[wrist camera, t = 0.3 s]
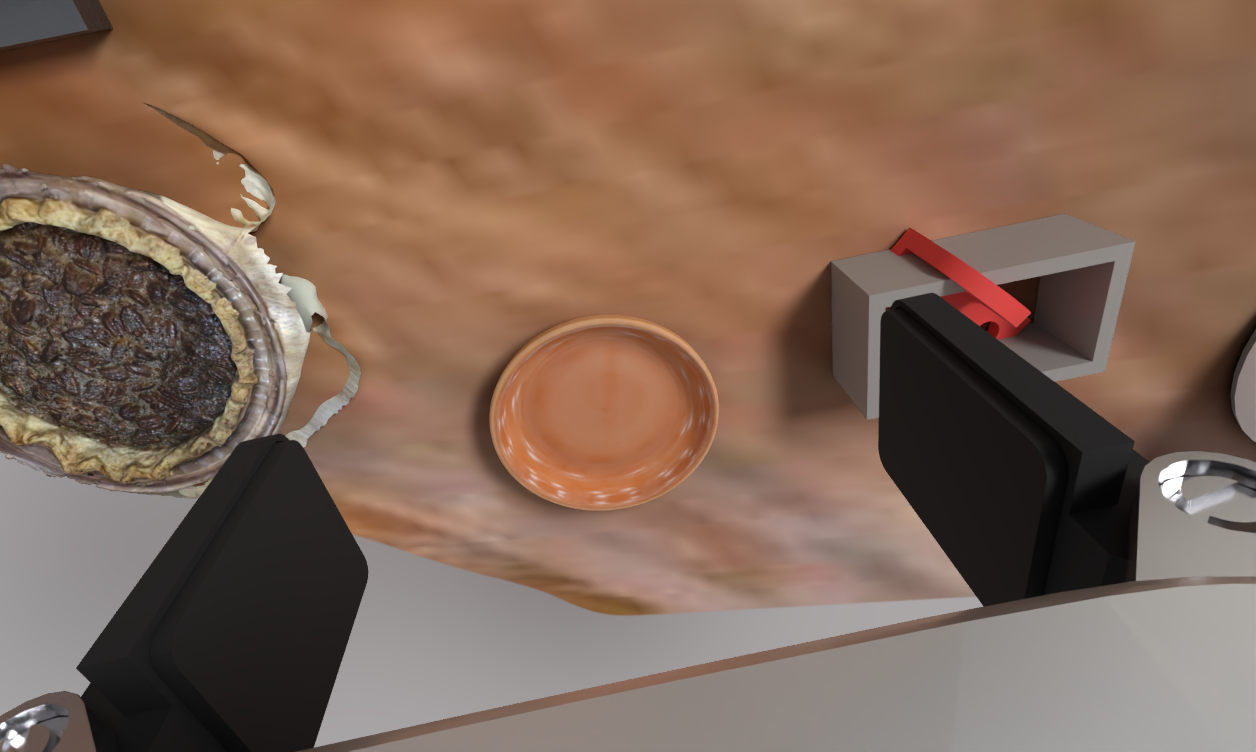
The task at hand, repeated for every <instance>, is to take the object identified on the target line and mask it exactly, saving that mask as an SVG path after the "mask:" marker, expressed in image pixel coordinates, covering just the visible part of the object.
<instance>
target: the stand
mask: <svg viewBox="0 0 1256 752" xmlns="http://www.w3.org/2000/svg"><path fill="white" fill-rule="evenodd" d="M109 29H113V28H112V26H111V24H110V22H109V20H108V18H107V16H106V14H105V12H104V10H103V8H102V6H101V5H100V3H99V1H98V0H0V51H5V50H10V49H15V48H20V47H25V46H30V45H35V44H40V43H45V42H50V41H54V40H59V39H64V38H69V37H74V36H79V35H84V34H89V33H94V32H99V31H104V30H109Z"/></svg>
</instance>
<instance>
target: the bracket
mask: <svg viewBox="0 0 1256 752" xmlns="http://www.w3.org/2000/svg"><path fill="white" fill-rule="evenodd" d="M890 251H891V252H893V253H894V254H896V255H897V256H901V255H906V254H911V253H914V254H915V255H917V256H918V257H920V258H921V259H923V260H924V261H926V262H927V263H929V264H930V265H931V266H933V267H934V268H936V269H937V270H939V271H940V272H942V273H943V274H945V275H946V276H947V277H949V278H950V279H952V280H953V281H954V282H956V283H957V284H958V285H960V286H961V287H962V288H964V289H965V290H966V291H965V292H960V293H955V294H950V295H945V296H940V297H941V298H943V299H944V300H945V301H947V302H948V303H949V304H951V305H952V306H953V307H955V308H956V309H957V310H959V311H960V312H961V313H963V314H964V315H965V316H967V317H968V318H969V319H971V320H972V321H973V322H975V323H976V324H977V325H979V326H980V325H982V324H983V323H985V322H989V321H990V325H989V328H988V329H987V332H988V333H990V334H991V335H992V336H994V337H995V338H996V339H1003V338H1008V337H1013V336H1016V335H1017V334H1018V333H1019V332H1020V331H1021V330H1022V329H1023V328H1024V327H1025V326H1026V325H1027V324H1028V323H1029V322H1030V321H1031V320H1030V319H1029V318H1028V316H1029V315H1030V314H1031V312H1030V311H1029V310H1028V309H1027V308H1026V307H1025V306H1023V305H1022V304H1021V303H1020V302H1018V301H1017V300H1016V299H1015V298H1013V297H1012V296H1011V295H1009V294H1008V293H1007V292H1005V291H1004V290H1003V289H1001V288H1000V287H999V286H997V285H996V284H995V283H993V282H992V281H990V280H989V279H988V278H986V277H985V276H983V275H982V274H981V273H979V272H978V271H976V270H975V269H974V268H972V267H971V266H969V265H968V264H966V263H965V262H963V261H962V260H960V259H959V258H957V257H956V256H954V255H953V254H951V253H950V252H948V251H947V250H945V249H943V248H942V247H940V246H939V245H937V244H935V243H934V242H932V241H931V240H929V239H927V238H926V237H924V236H923V235H921V234H919V233H918V232H916V231H915V230H913V229H911V228H909V229H908V230H907V231H906V233H905V234H904V235H903V236H902V237H901V238H900V240H899V241H898V242H897V243H896V244H895V245H894V247H893V248H892V249H891V250H890Z"/></svg>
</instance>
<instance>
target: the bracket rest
mask: <svg viewBox="0 0 1256 752" xmlns="http://www.w3.org/2000/svg"><path fill="white" fill-rule="evenodd" d="M932 242H934V243H935V244H937V245H939V246H940V247H942V248H943V249H945V250H947V251H948V252H950V253H951V254H953V255H954V256H956V257H957V258H959V259H960V260H962V261H963V262H965V263H966V264H968V265H969V266H971V267H972V268H974V269H975V270H976V271H978V272H979V273H981V274H982V275H983V276H985V277H986V278H988V279H989V280H990V281H992V282H993V283H995V284H996V285H999V284H1004V283H1009V282H1014V281H1019V280H1024V279H1029V278H1034V277H1038V276H1041V277H1040V283H1039V289H1038V296H1037V302H1036V308H1035V314H1034V320H1033V323H1030V324H1027V325H1026V326H1025V327H1024V328H1023V329H1022V330H1021V331H1020V332H1019V333H1018V334H1017V335H1016V336H1013V337H1008V338H1003V339H998V340H999V341H1000V342H1002V343H1003V344H1004V345H1006V346H1007V347H1008V348H1010V349H1011V350H1012V351H1014V352H1015V353H1016V354H1018V355H1019V356H1020V357H1022V358H1023V359H1024V360H1026V361H1027V362H1029V363H1030V364H1031V365H1033V366H1034V367H1035V368H1037V369H1038V370H1039V371H1041V372H1042V373H1043V374H1045V375H1046V376H1047V377H1049V378H1050V379H1051V380H1053V381H1054V382H1056V381H1061V380H1066V379H1070V378H1075V377H1080V376H1085V375H1090V374H1095V373H1100V372H1105V368H1106V364H1107V359H1108V355H1109V351H1110V347H1111V342H1112V338H1113V334H1114V330H1115V326H1116V321H1117V317H1118V313H1119V309H1120V304H1121V300H1122V296H1123V292H1124V288H1125V283H1126V279H1127V275H1128V271H1129V267H1130V262H1131V258H1132V254H1133V250H1134V245H1135V241H1133V240H1130V239H1128V238H1125V237H1123V236H1120V235H1118V234H1115V233H1113V232H1110V231H1107V230H1105V229H1102V228H1100V227H1097V226H1095V225H1092V224H1090V223H1087V222H1085V221H1082V220H1080V219H1077V218H1075V217H1072V216H1070V215H1067V214H1061V215H1056V216H1051V217H1046V218H1042V219H1037V220H1032V221H1027V222H1022V223H1017V224H1012V225H1007V226H1002V227H997V228H992V229H988V230H983V231H978V232H973V233H968V234H963V235H958V236H953V237H948V238H943V239H938V240H934V241H932ZM890 250H891V249H889V250H884V251H880V252H875V253H870V254H865V255H860V256H855V257H850V258H845V259H840V260H835V261H831V290H832V363H833V376H834V378H835V379H836V380H837V382H838V383H839V384H840V385H841V387H842V388H843V389H844V391H845V392H846V393H847V395H848V396H849V397H850V399H851V400H852V401H853V402H854V404H855V405H856V406H857V408H858V409H859V410H860V412H861V413H862V414H863V415H864V417H865V418H866V419H867V420H870V419H874V418H879V379H880V322H881V316H882V314H883V313H884V312H885V308H886V307H891V306H892V303H893V302H894V301H895V300H899V299H904V298H908V297H913V296H918V295H922V294H927V293H935V294H937V295H938V296H945V295H950V294H955V293H960V292H965V291H966V290H965V289H964V288H962V287H961V286H960V285H958V284H957V283H956V282H954V281H953V280H952V279H950V278H949V277H947V276H946V275H945V274H943V273H942V272H940V271H939V270H937V269H936V268H934V267H933V266H931V265H930V264H929V263H927V262H926V261H924V260H923V259H921V258H920V257H918V256H917V255H915V254H914V253H911V254H906V255H901V256H897V255H896V254H894V253H893V252H891V251H890Z"/></svg>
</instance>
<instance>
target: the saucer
mask: <svg viewBox="0 0 1256 752" xmlns="http://www.w3.org/2000/svg"><path fill="white" fill-rule="evenodd" d="M718 418H719V402H718V395H717V390H716V386H715V383H714V380H713V378H712V376H711V374H710V372H709V370H708V368H707V366H706V365H705V363H704V362H703V360H702V359H701V358H700V356H699V355H698V354H697V353H696V351H695V350H694V349H693V348H692V347H691V346H690V345H689V344H688V343H687V342H686V341H685V340H684V339H682V338H681V337H679V336H678V335H677V334H675V333H674V332H672V331H671V330H669V329H667V328H665V327H663V326H661V325H659V324H656V323H654V322H651V321H648V320H645V319H641V318H637V317H633V316H627V315H616V314H603V315H592V316H586V317H580V318H577V319H573V320H569V321H566V322H563V323H561V324H558V325H556V326H554V327H552V328H550V329H548V330H546V331H544V332H542V333H541V334H539V335H537V336H536V337H535V338H533V339H532V340H530V341H529V342H528V343H527V344H525V345H524V346H523V347H522V348H521V349H520V350H519V351H518V352H517V353H516V354H515V355H514V356H513V358H512V359H511V360H510V362H509V363H508V364H507V366H506V367H505V369H504V371H503V372H502V374H501V376H500V378H499V380H498V383H497V385H496V387H495V390H494V393H493V396H492V400H491V405H490V414H489V425H490V433H491V438H492V442H493V445H494V448H495V450H496V453H497V455H498V457H499V459H500V461H501V462H502V464H503V465H504V467H505V468H506V470H507V471H508V472H509V473H510V474H511V475H512V477H513V478H514V479H515V480H516V481H518V482H519V483H520V484H521V485H522V486H523V487H525V488H526V489H528V490H529V491H531V492H532V493H534V494H535V495H537V496H539V497H541V498H543V499H545V500H548V501H550V502H553V503H555V504H558V505H561V506H565V507H569V508H574V509H580V510H590V511H606V510H616V509H623V508H628V507H633V506H636V505H640V504H643V503H645V502H648V501H651V500H653V499H655V498H657V497H659V496H661V495H663V494H665V493H667V492H668V491H670V490H672V489H673V488H675V487H676V486H677V485H679V484H680V483H681V482H683V481H684V480H685V479H686V478H687V477H688V476H689V475H690V474H691V473H692V472H693V471H694V470H695V469H696V468H697V467H698V465H699V464H700V463H701V462H702V460H703V459H704V457H705V456H706V454H707V452H708V450H709V449H710V446H711V444H712V442H713V439H714V436H715V433H716V429H717V425H718Z"/></svg>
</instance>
